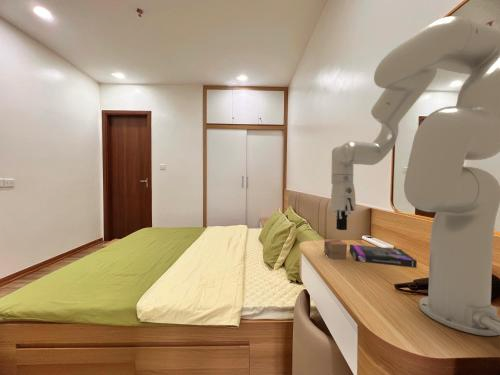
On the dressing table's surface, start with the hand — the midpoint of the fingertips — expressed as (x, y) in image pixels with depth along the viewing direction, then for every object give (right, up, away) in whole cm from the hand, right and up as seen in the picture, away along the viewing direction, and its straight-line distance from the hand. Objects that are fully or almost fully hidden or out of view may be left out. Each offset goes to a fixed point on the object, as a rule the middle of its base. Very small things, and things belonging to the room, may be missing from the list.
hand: (341, 229), depth 82 cm
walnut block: (-1, -5, +4) cm, 7 cm away
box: (+16, -13, +4) cm, 21 cm away
